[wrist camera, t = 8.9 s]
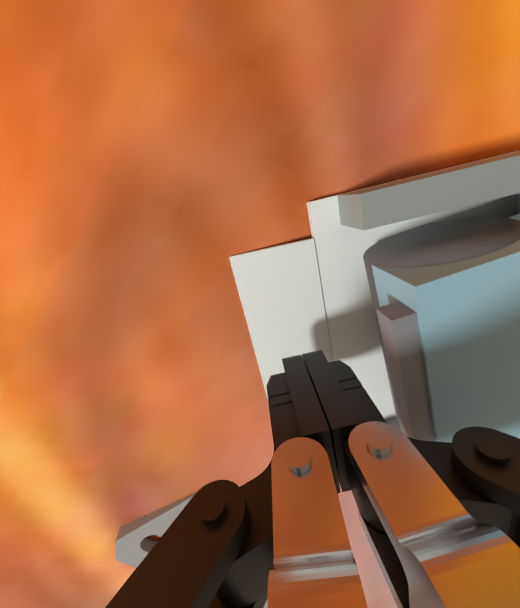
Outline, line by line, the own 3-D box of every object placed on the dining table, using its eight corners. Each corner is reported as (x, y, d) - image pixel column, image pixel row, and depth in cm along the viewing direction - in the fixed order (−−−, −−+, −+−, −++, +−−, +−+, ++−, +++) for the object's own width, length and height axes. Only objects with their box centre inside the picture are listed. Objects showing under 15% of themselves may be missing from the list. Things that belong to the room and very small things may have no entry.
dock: (220, 222, 10) (213, 229, 8) (639, 121, 10) (770, 94, 7) (281, 447, 14) (288, 497, 12) (576, 383, 14) (646, 422, 11)
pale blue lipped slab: (329, 257, 10) (389, 295, 6) (600, 162, 9) (874, 132, 5) (365, 399, 13) (425, 495, 8) (582, 331, 12) (761, 400, 8)
